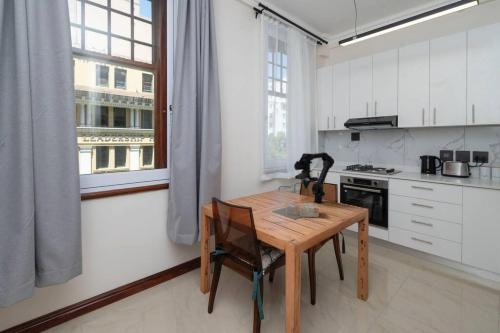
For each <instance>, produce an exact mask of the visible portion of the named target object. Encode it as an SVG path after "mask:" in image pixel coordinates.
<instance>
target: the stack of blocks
mask: <svg viewBox="0 0 500 333" xmlns="http://www.w3.org/2000/svg"><path fill="white" fill-rule="evenodd" d="M285 208H286V215H300V217H302V218H304V217H306V218H307V217H308V218H319V214H320V213H319V206H318V205H317V203H309V202H308V203H307V202H303V203H302V202H301V203H298V202H286V203H285Z"/></svg>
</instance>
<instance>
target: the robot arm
mask: <svg viewBox="0 0 500 333" xmlns="http://www.w3.org/2000/svg"><path fill="white" fill-rule="evenodd" d="M315 159H321V161H322V166H323V167H322V169H321V171H320V175H319V177H318V176H317V177H316V176H312V175H311V173H312V170H311V164H313V162H312V160H315ZM334 164H335V160H334V158H333V157H332V156H330V155H329V154H328V153H327V152H323V151H322V152H316V153H308V152H307V153H306V152H304V153H302V154H301V157H300V158H299V160H296V161H295V163H294V165H293V166H294V167H293V168H294V169H295V171H300V173H298V174H295V176H294V179H295V180H300V181H301V182H302V184H303V186H304V189H308V187H309V185H310V184H311V182H313V184H312V187H311V191H312V195H314V201H313V203H314V204H323V203H325V201H323V197H325V195H326V192H324V182H325V180H326V178H327V176H328V173H329V170H330V169H331V168H332V167H333V166H334ZM314 182H315V183H314Z"/></svg>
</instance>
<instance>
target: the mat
mask: <svg viewBox="0 0 500 333" xmlns="http://www.w3.org/2000/svg"><path fill="white" fill-rule="evenodd" d="M271 212H272V213H275V214H278V215H281V216H284V217H286V218H289V219H293V220H297V219H301V218H303V217H300V215H286V207H283V208H280V209H275V210H271Z"/></svg>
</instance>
